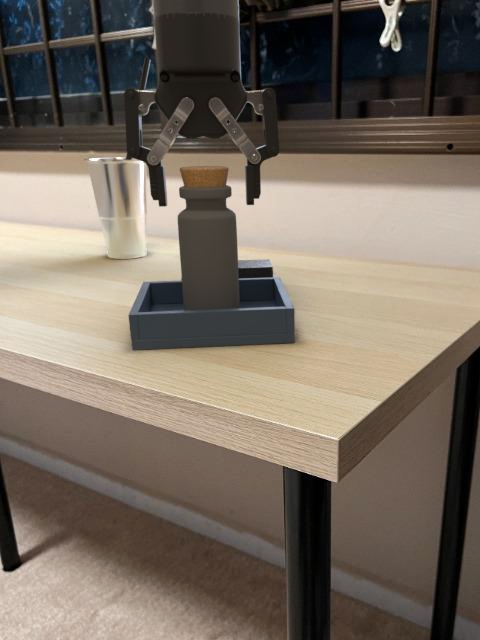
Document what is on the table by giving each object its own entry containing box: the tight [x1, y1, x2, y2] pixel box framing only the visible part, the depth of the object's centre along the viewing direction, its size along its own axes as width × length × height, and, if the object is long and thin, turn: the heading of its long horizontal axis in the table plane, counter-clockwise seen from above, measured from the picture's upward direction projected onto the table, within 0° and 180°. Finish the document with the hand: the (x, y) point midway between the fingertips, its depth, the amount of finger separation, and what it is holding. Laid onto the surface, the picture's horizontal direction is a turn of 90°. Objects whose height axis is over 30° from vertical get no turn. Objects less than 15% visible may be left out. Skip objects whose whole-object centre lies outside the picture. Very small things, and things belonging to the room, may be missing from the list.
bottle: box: [177, 165, 240, 310], centre depth 62 cm, size 6×6×15 cm
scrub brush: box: [180, 258, 277, 281], centre depth 78 cm, size 12×6×4 cm, turn 97°
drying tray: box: [128, 276, 296, 351], centre depth 64 cm, size 16×14×4 cm
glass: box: [83, 57, 151, 260], centre depth 97 cm, size 11×11×30 cm
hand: (207, 205), depth 60 cm, fingers open, 8 cm apart
